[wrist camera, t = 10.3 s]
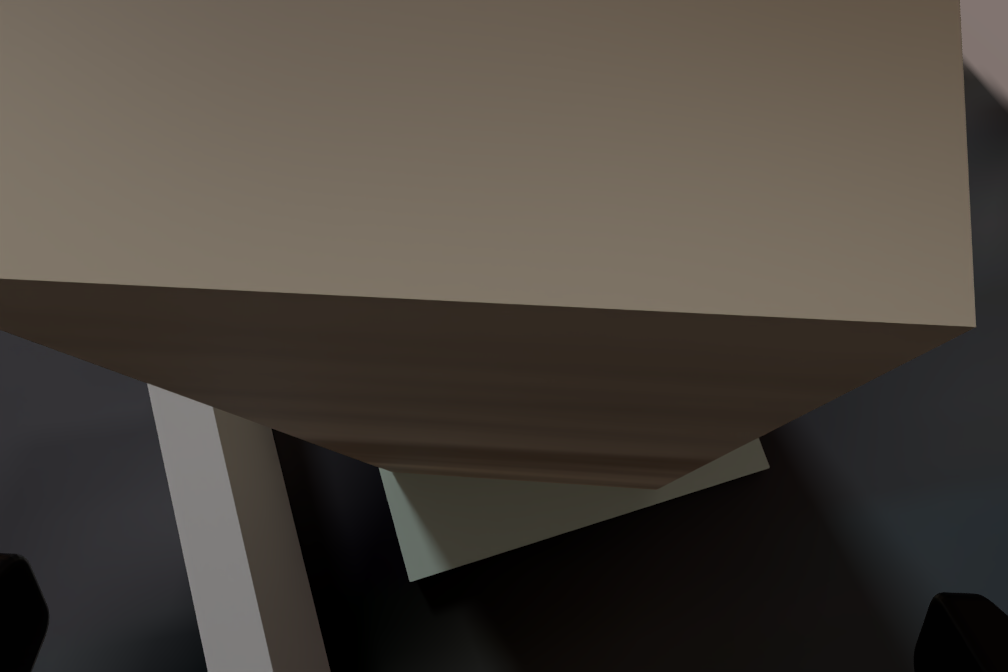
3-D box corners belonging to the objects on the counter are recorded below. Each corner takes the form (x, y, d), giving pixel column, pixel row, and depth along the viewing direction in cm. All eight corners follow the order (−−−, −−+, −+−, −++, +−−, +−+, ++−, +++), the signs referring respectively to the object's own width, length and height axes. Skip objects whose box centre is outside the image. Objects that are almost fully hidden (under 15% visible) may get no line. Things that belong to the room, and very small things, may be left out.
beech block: (656, 489, 16) (976, 326, 4) (391, 471, 17) (-165, 270, 4) (664, 234, 17) (929, -585, 5) (415, 223, 18) (39, -553, 5)
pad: (762, 470, 17) (770, 467, 16) (415, 580, 17) (410, 582, 16) (642, 150, 18) (644, 137, 18) (325, 251, 18) (317, 241, 18)
